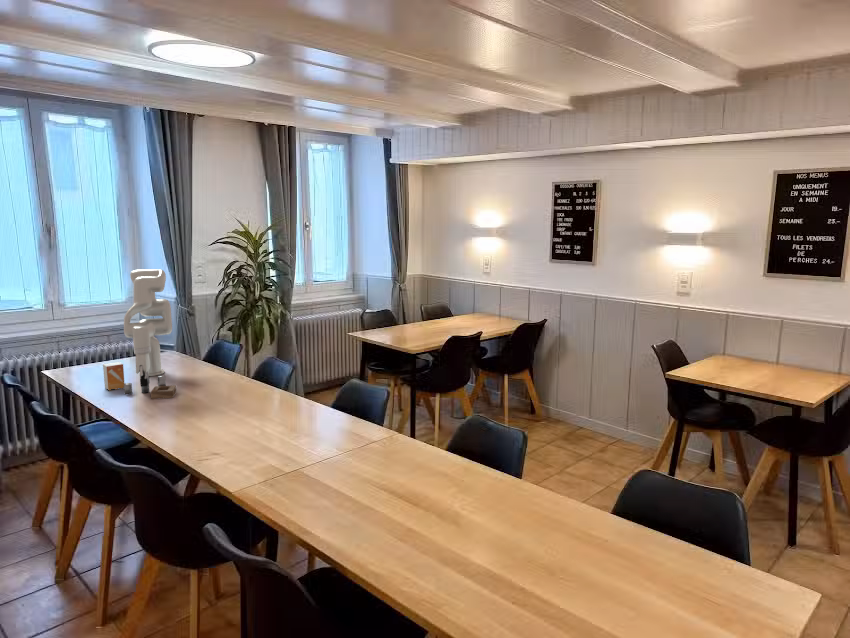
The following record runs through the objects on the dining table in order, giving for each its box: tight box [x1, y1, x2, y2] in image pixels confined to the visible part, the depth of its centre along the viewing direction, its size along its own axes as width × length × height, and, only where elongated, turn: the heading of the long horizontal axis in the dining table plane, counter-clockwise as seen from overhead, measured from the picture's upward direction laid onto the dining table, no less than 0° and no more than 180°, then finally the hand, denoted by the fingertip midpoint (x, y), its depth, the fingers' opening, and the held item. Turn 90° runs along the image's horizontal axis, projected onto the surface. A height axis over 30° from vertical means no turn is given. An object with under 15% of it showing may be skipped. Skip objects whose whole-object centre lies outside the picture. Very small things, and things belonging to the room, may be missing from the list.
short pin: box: [123, 382, 133, 395], centre depth 293 cm, size 4×4×5 cm
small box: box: [102, 361, 126, 391], centre depth 301 cm, size 8×6×13 cm
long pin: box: [140, 372, 150, 394], centre depth 295 cm, size 4×4×12 cm
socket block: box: [150, 384, 177, 400], centre depth 291 cm, size 10×10×4 cm
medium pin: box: [157, 375, 167, 386], centre depth 297 cm, size 4×4×8 cm
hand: (145, 384), depth 295 cm, fingers closed on long pin, 3 cm apart
